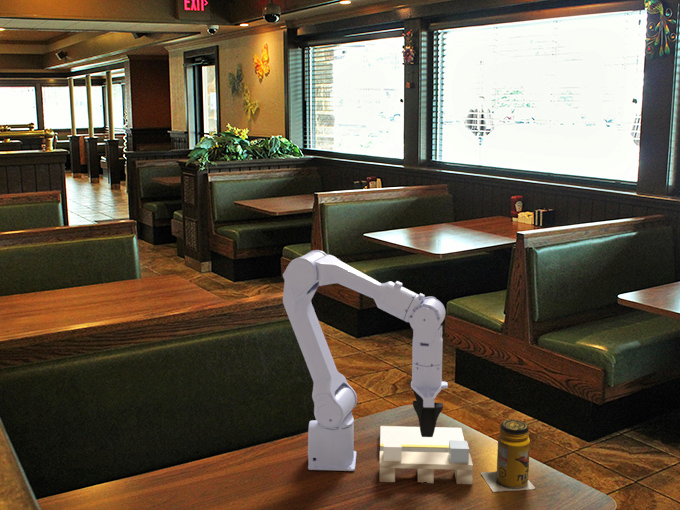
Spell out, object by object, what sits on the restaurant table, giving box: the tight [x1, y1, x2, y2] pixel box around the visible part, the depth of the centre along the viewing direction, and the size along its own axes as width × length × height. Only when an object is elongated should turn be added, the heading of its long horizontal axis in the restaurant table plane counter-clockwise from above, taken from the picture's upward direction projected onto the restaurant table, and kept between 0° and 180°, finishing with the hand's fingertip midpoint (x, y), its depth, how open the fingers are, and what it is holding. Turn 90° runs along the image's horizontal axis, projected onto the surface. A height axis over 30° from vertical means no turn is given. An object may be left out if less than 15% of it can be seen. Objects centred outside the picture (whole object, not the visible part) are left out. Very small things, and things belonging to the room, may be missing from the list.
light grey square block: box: [449, 440, 470, 463], centre depth 137 cm, size 4×4×3 cm
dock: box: [379, 425, 465, 453], centre depth 152 cm, size 18×10×2 cm, turn 86°
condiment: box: [480, 419, 536, 493], centre depth 136 cm, size 7×8×12 cm
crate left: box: [383, 439, 402, 462], centre depth 138 cm, size 4×4×3 cm
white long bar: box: [379, 450, 474, 485], centre depth 138 cm, size 18×5×4 cm, turn 86°
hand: (425, 427), depth 137 cm, fingers open, 7 cm apart
